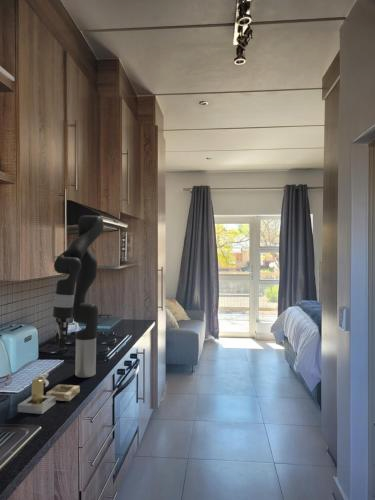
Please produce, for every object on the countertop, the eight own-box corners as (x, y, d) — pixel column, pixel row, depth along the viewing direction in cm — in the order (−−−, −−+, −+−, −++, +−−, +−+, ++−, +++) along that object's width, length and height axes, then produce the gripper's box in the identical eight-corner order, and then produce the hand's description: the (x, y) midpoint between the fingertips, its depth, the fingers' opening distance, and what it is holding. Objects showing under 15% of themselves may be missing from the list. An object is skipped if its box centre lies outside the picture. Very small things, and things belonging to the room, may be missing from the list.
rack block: (58, 390, 151) (58, 384, 151) (79, 391, 149) (79, 385, 149) (45, 399, 141) (46, 392, 141) (68, 401, 140) (68, 394, 140)
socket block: (32, 401, 139) (32, 394, 139) (55, 403, 138) (55, 396, 138) (17, 411, 130) (17, 404, 130) (42, 414, 129) (42, 406, 129)
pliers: (22, 384, 153) (33, 373, 168) (22, 388, 153) (33, 376, 168) (46, 384, 154) (55, 372, 169) (46, 388, 154) (55, 376, 169)
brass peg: (35, 404, 136) (35, 378, 136) (45, 405, 136) (45, 378, 136) (29, 409, 132) (29, 381, 132) (39, 410, 132) (39, 382, 132)
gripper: (76, 307, 143) (72, 349, 142) (69, 304, 156) (65, 342, 155) (56, 307, 140) (52, 349, 138) (51, 303, 152) (47, 342, 151)
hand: (59, 345), depth 146 cm, fingers open, 8 cm apart
